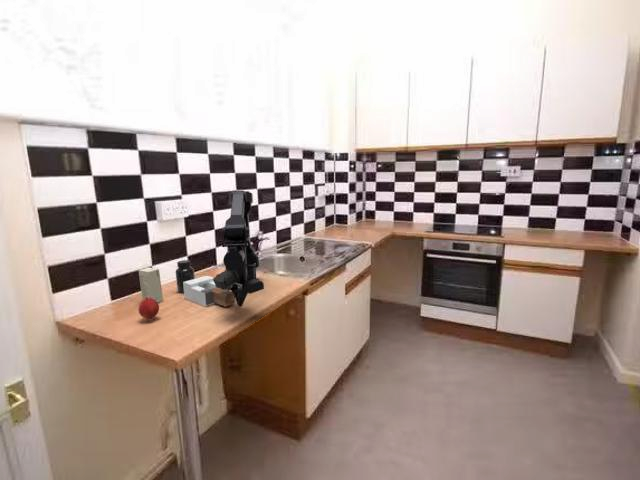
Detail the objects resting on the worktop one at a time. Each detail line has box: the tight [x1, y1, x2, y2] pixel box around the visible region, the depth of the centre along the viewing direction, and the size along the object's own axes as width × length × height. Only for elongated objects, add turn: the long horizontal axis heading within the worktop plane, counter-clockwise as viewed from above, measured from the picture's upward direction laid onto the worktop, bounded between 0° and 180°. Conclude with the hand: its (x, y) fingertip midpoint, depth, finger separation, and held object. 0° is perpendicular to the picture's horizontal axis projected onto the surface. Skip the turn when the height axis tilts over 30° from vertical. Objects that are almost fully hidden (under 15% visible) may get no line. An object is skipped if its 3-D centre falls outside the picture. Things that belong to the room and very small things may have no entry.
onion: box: [138, 296, 160, 321], centre depth 107 cm, size 6×6×8 cm
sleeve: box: [183, 275, 231, 307], centre depth 125 cm, size 10×14×6 cm
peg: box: [211, 287, 236, 308], centre depth 120 cm, size 4×10×4 cm, turn 52°
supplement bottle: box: [175, 259, 196, 294], centre depth 133 cm, size 7×7×12 cm
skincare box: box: [138, 267, 164, 304], centre depth 122 cm, size 6×4×12 cm
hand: (240, 306), depth 113 cm, fingers closed
